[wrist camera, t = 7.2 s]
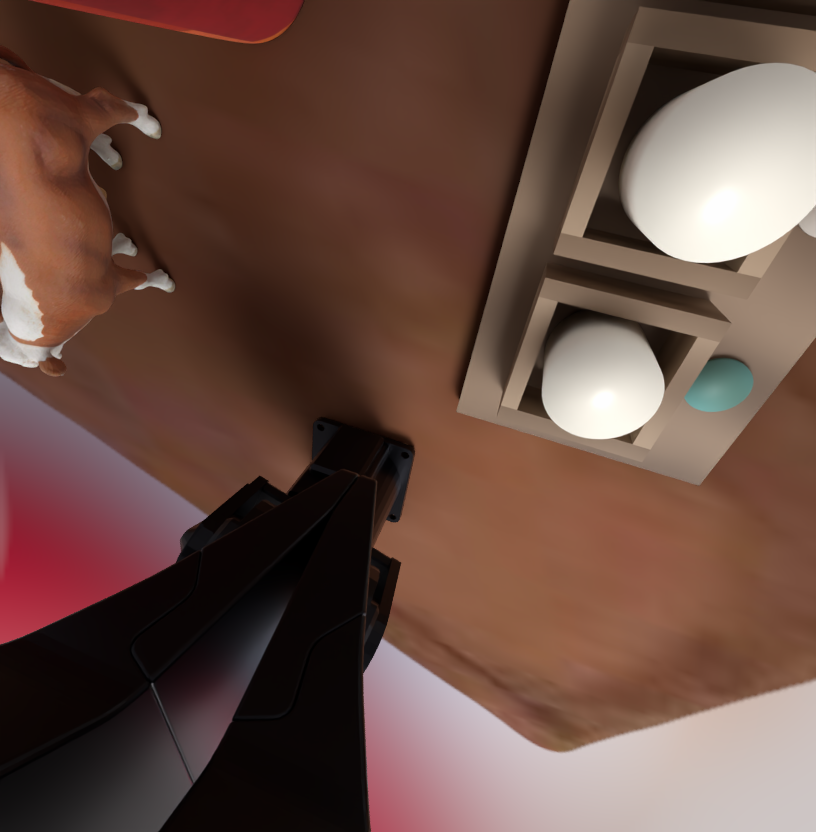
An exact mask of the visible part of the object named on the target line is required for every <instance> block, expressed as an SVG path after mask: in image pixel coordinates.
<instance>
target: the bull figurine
mask: <svg viewBox="0 0 816 832" xmlns="http://www.w3.org/2000/svg"><path fill="white" fill-rule="evenodd" d="M0 58H1V59H4V60H6V61H8V62H9V63H10V64H12V65H14V66H15V67H14V66H10V65H6V64H0V282H1V285H2V289H3V297H2V306H0V357H1V358H2V359H3V360H6V361H9V362H12V363H17V364H20V365H22V366H25V367H37V366H38V365H39V367H40V369H41V370H42V371H43V372H44V373H46V374H48V375H51V376H61V375H63V374H64V373H65V371H66V369H67V368H66V366H65V364H64V362H62V361H61V360H60V358H61V357H62V354H61V353H60V351H61V349H62V347H63V344H64V343H65V342H67V341H68V340H69V339H70V338H72V337H73V336H74V335H75V334H76V333H77V332H78V331H80V330H81V329H82V328H83V327H85V326H86V325H87V324H88V323H89V322H90V321H91V320H92V318H93V317H94V316H97V315H100V314H103V313H105V312H106V311H107V310H108V309H109V308H110V307H111V305H112V303H113V302H114V299H115V296H116V295H118V294H121V293H123V292H126V291H128V290H131V289H138V290H139V289H144V288H146V287H147V286H153V287H159V288H161V289H163V290H165V291H166V292H169V293H170V292H173V291H174V289H175V283H174V281H173V280H172V279H171V278H168V274H166V273H164V272H163V270H161V269H158V270H156V271H154V272H153V273H150V274H148V273H144V272H142V271H139V270H130V269H124V268H122V267H119V266H117V265H115V264H114V261H113V259H112V258H111V257H112V256H113V255H114V254H116V253H124V254H127V255H130V256H135V255H136V254H137V247H136V246H135V245H134V244H133V243H131V239H129V238H126V237H125V235H124V234H123V233H119V234H117V235H116V237H115V238H114V239H113V225H112V218H111V213H110V209H109V206H108V203H107V201H106V198H107V194H106V191H105V190H104V189H103V188H101V187H99V186H98V185H97V184H96V182H95V181H94V179H93V178H92V176H91V173H90V171H89V164H88V155H89V150H90V148H91V149H92V150H94V151H95V152H96V153H97V154H98V155H99V156H100V157H101V158H102V159H103V160H104V161H105V162H106V163H108V165H109V166H111V167H112V168H113V169H114V170H118V169H120V168H121V166H122V159H121V156H120V154H119V153H118V152H117V151H115V150H114V149H113V148H112V147H111V146H110V143H111V142H112V139H111V138H110V137H109V136H107V135H105V134H102V133H103V132H105V131H106V130H108V129H109V128H110V127H112V126H114V125H116V124H120V123H129V124H132V125H134V126H136V127H137V128H139V129H140V130H141V131H142V132H143V133H145V134H146V135H148V136H149V137H151V138H155V139H158V138H160V136H161V126H160V123H159V122H158V120H156V119H155V118H154V117H152V116H150V115H148V108H147V107H146V106H145V105H142V104H136V103H132V102H128V101H125V100H122V99H120V98H118V97H116V96H114V95H112V94H111V93H109V92H108V91H107V90H106V89H104V88H102V87H96V88H94V89H93V90H91V91H90V92H89V93H87V94H84V95H81V94H80V93H78V92H77V91H75V90H73V89H71V88H69V87H68V86H65V85H63V84H61V83H59V82H57V81H54V80H52V79H49V78H47V77H44V76H42V75H39V74H37V73H35V72H34V71H32V70H31V69H30V68H29V67H28V66H27V65H26V64H25V63H24V61H23V60H22V59H21V58H20V57H18V56H17V55H16V54H15V53H14V52H12V51H11V50H9V49H8V48H6V47H4V46H2V45H0Z"/></svg>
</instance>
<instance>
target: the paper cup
mask: <svg viewBox="0 0 816 832" xmlns="http://www.w3.org/2000/svg"><path fill="white" fill-rule="evenodd" d="M30 1H35V2H40V3H45V4H50V5H54V6H59V7H64V8H69V9H73V10H78V11H83V12H88V13H93V14H97V15H102V16H107V17H112V18H117V19H121V20H126V21H131V22H136V23H141V24H146V25H151V26H156V27H160V28H165V29H170V30H175V31H180V32H185V33H190V34H195V35H200V36H206V37H211V38H216V39H221V40H227V41H233V42H241V43H250V44H256V43H264V42H268V41H271V40H273V39H275V38H277V37H278V36H280V35H281V34H282V33H284V32H285V31H286V30H287V29H288V28H289V27H290V25H291V24H292V23H293V22H294V20H295V19H296V17H297V15H298V13H299V12H300V10H301V7H302V5H303V3H304V0H30Z"/></svg>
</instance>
